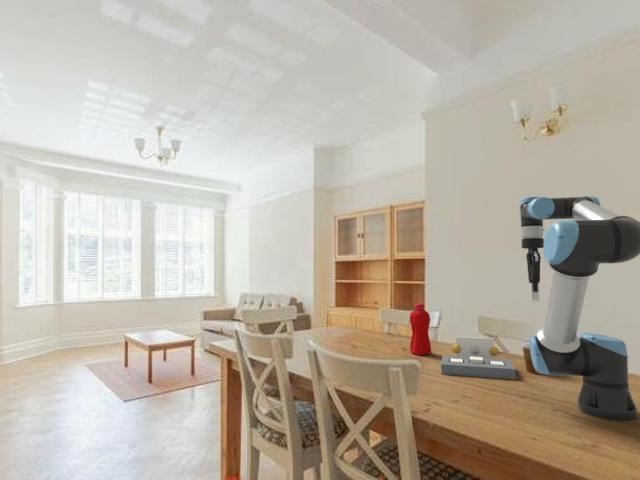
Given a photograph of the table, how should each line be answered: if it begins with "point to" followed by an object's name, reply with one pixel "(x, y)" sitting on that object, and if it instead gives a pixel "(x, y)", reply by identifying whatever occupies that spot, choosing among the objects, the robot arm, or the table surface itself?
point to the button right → (496, 363)
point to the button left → (456, 360)
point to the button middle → (476, 360)
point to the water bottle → (420, 331)
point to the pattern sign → (475, 347)
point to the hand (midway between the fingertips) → (535, 300)
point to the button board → (478, 368)
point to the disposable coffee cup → (528, 358)
